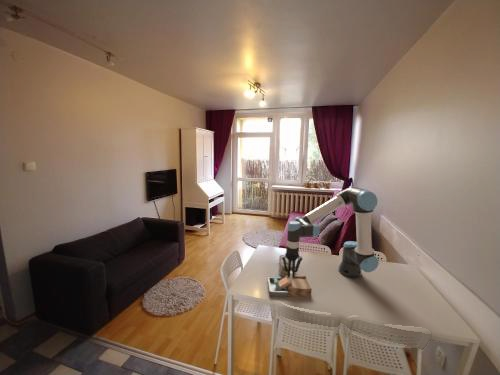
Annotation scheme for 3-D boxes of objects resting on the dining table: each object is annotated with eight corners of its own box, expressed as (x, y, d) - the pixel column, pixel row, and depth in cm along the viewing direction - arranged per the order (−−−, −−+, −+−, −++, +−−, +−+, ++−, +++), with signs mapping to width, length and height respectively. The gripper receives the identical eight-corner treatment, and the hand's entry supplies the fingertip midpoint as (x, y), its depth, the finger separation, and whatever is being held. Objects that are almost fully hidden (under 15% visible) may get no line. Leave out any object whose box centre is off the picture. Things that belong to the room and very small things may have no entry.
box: (284, 281, 151) (284, 277, 150) (288, 296, 135) (288, 292, 134) (267, 280, 151) (267, 276, 150) (269, 296, 135) (269, 291, 134)
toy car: (292, 262, 176) (293, 250, 175) (295, 280, 152) (296, 267, 150) (278, 261, 177) (279, 249, 176) (279, 279, 153) (280, 265, 151)
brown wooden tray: (305, 282, 150) (305, 276, 149) (310, 296, 136) (311, 288, 135) (284, 282, 150) (284, 275, 149) (287, 295, 136) (288, 288, 135)
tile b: (276, 276, 144) (273, 277, 144) (277, 281, 138) (274, 282, 139) (279, 284, 145) (276, 285, 145) (281, 289, 139) (278, 290, 139)
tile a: (288, 278, 145) (286, 276, 144) (289, 284, 139) (288, 281, 139) (280, 283, 145) (278, 280, 145) (281, 289, 139) (279, 286, 139)
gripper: (301, 244, 142) (299, 278, 146) (281, 243, 142) (279, 277, 146) (304, 249, 134) (302, 285, 138) (283, 248, 134) (280, 284, 138)
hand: (290, 281), depth 142 cm, fingers closed
